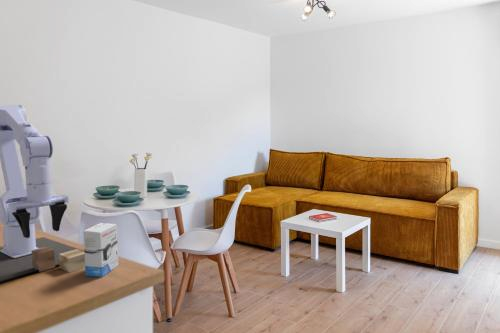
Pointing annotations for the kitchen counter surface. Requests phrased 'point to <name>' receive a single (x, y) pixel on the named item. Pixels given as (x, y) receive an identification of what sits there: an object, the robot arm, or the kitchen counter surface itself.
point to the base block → (72, 260)
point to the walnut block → (43, 258)
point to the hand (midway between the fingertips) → (41, 233)
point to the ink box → (100, 249)
